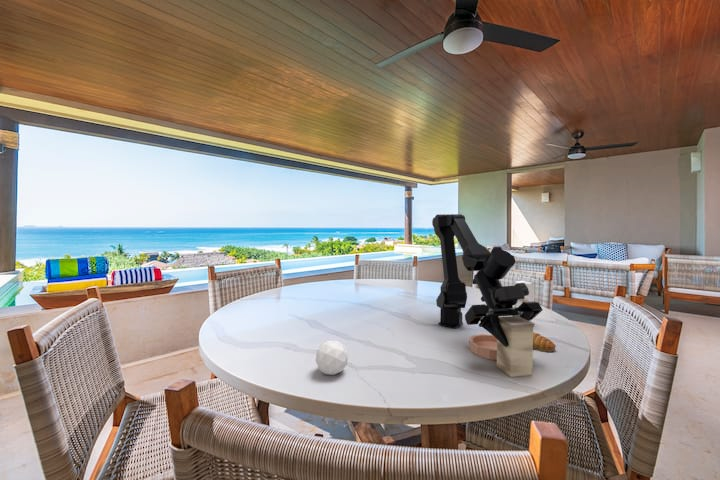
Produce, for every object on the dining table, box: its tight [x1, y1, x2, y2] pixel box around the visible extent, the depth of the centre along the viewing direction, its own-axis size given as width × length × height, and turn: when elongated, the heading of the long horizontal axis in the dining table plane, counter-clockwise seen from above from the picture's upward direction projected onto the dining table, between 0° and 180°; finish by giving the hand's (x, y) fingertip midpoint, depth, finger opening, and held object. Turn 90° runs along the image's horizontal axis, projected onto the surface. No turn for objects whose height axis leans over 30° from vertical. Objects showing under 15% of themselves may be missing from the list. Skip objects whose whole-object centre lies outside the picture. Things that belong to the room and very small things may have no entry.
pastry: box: [533, 331, 557, 353], centre depth 88 cm, size 9×7×4 cm
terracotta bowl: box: [468, 333, 497, 361], centre depth 85 cm, size 12×12×2 cm
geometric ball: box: [315, 339, 349, 376], centre depth 74 cm, size 8×8×8 cm
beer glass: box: [511, 280, 535, 323], centre depth 106 cm, size 7×7×15 cm
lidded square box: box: [496, 316, 535, 378], centre depth 74 cm, size 6×6×12 cm
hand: (518, 345), depth 72 cm, fingers closed on lidded square box, 5 cm apart
